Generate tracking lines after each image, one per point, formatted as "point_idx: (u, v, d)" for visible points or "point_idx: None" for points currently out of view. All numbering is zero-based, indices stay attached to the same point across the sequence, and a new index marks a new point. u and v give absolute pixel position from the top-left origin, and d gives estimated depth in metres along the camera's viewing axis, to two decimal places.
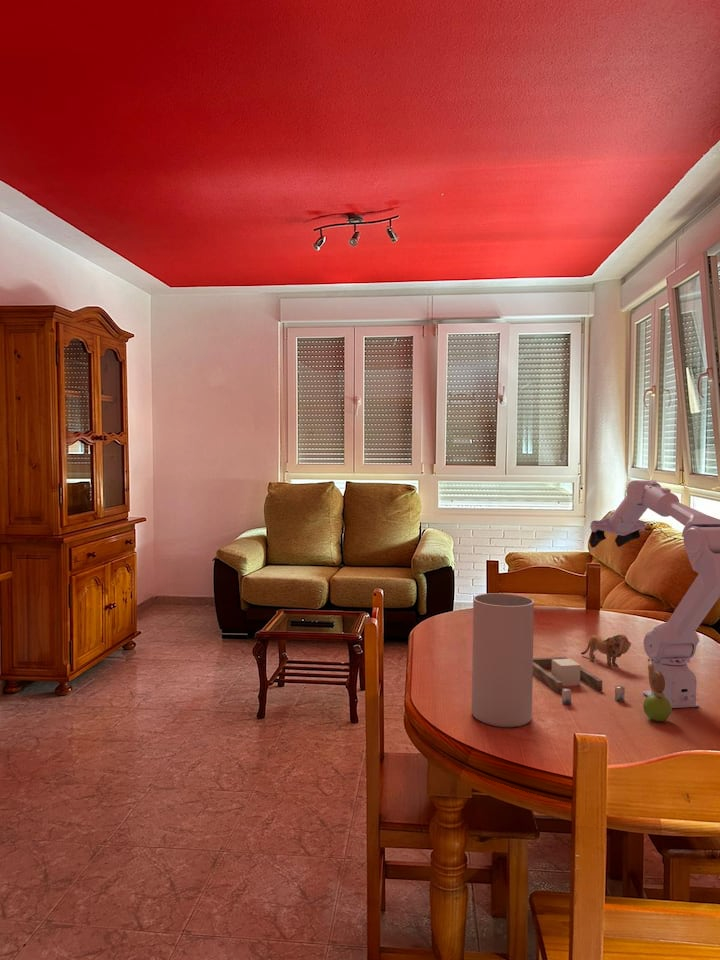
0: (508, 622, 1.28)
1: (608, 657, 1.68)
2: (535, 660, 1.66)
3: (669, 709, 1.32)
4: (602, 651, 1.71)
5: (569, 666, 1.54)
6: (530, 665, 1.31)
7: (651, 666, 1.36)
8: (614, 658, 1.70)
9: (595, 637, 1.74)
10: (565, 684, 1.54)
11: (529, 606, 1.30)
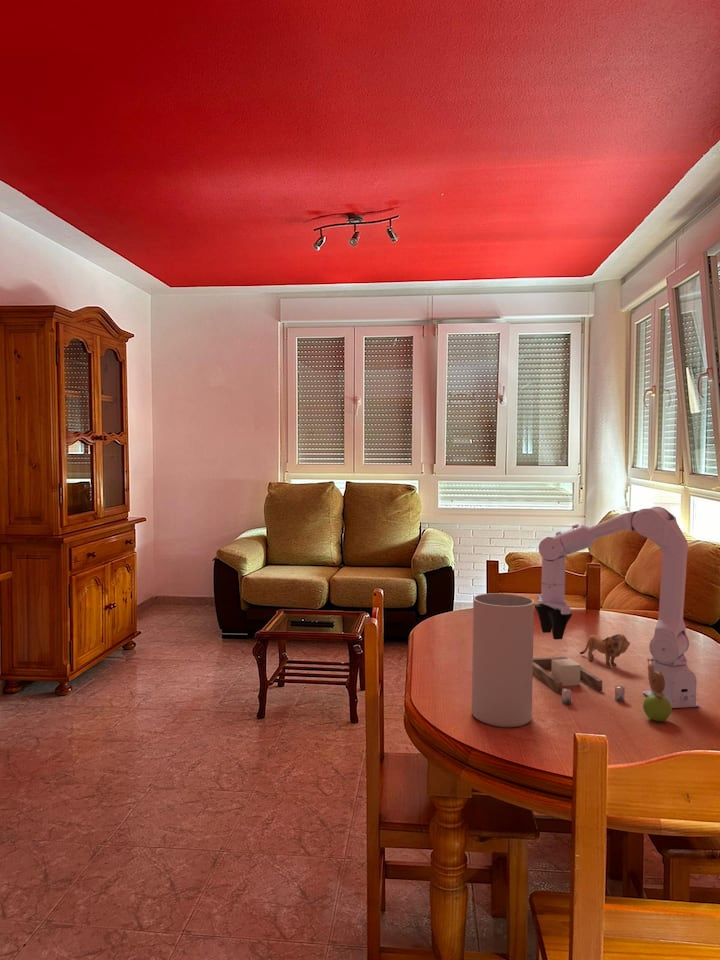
0: (508, 622, 1.28)
1: (607, 657, 1.69)
2: (535, 660, 1.66)
3: (669, 709, 1.32)
4: (601, 651, 1.71)
5: (569, 666, 1.54)
6: (530, 665, 1.31)
7: (651, 666, 1.36)
8: (613, 658, 1.70)
9: (594, 637, 1.74)
10: (565, 684, 1.54)
11: (529, 606, 1.30)
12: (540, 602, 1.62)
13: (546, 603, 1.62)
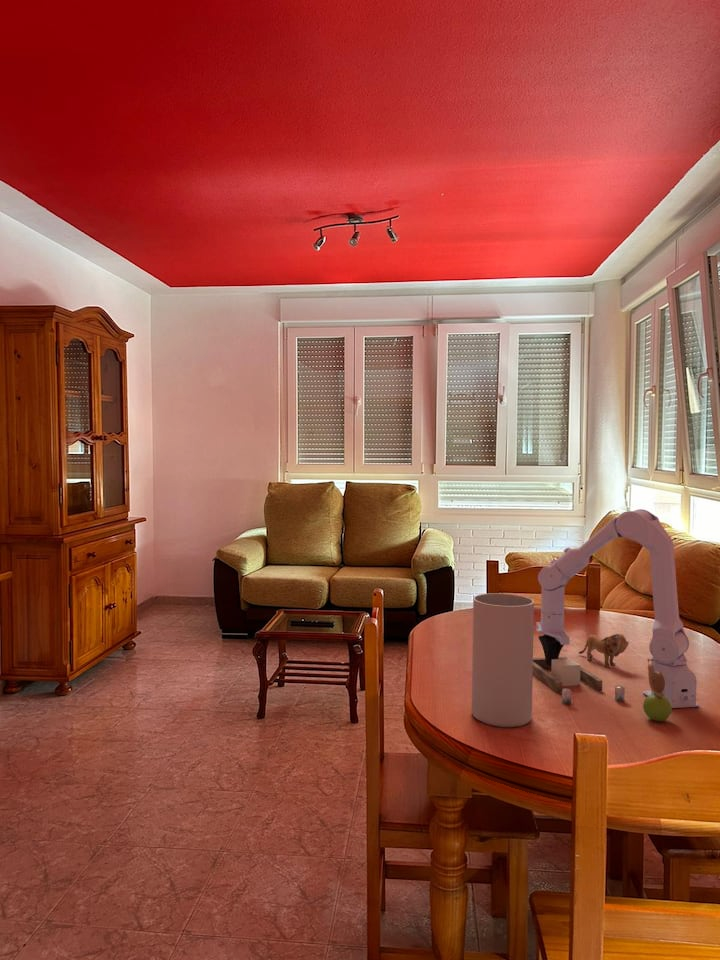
0: (508, 622, 1.28)
1: (606, 656, 1.69)
2: (535, 660, 1.66)
3: (669, 709, 1.32)
4: (600, 650, 1.71)
5: (569, 666, 1.54)
6: (530, 665, 1.31)
7: (651, 666, 1.36)
8: (612, 657, 1.70)
9: (593, 636, 1.74)
10: (565, 684, 1.54)
11: (529, 606, 1.30)
12: (539, 631, 1.63)
13: (545, 632, 1.62)
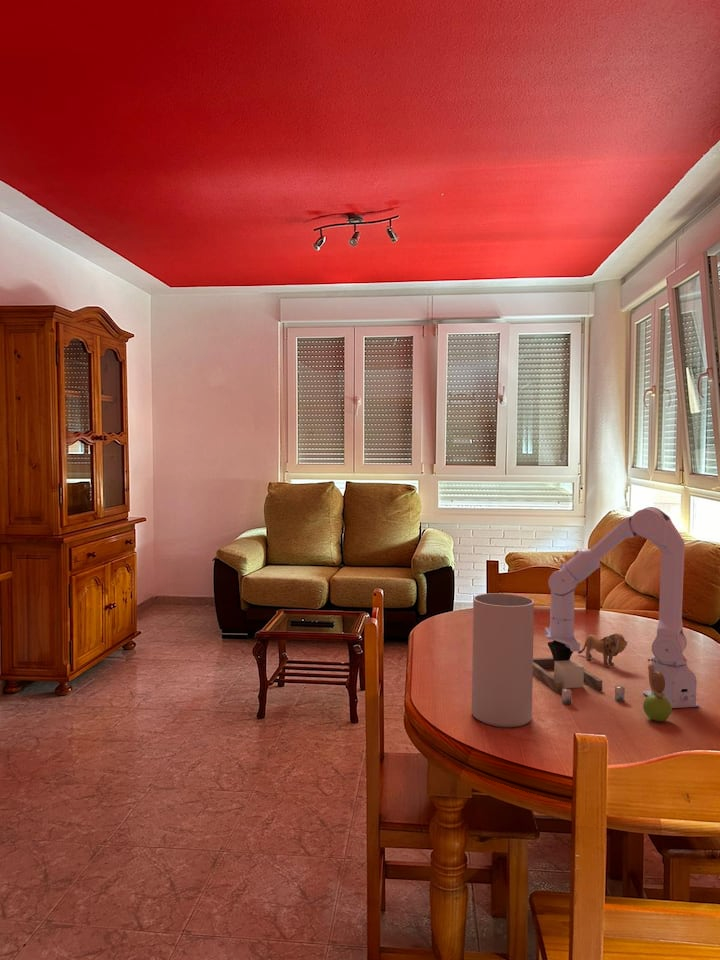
0: (508, 622, 1.28)
1: (604, 656, 1.69)
2: (535, 660, 1.66)
3: (669, 709, 1.32)
4: (598, 650, 1.71)
5: (572, 668, 1.53)
6: (530, 665, 1.31)
7: (651, 666, 1.36)
8: (610, 657, 1.71)
9: (592, 636, 1.75)
10: (569, 686, 1.53)
11: (529, 606, 1.30)
12: (549, 637, 1.58)
13: (555, 639, 1.57)
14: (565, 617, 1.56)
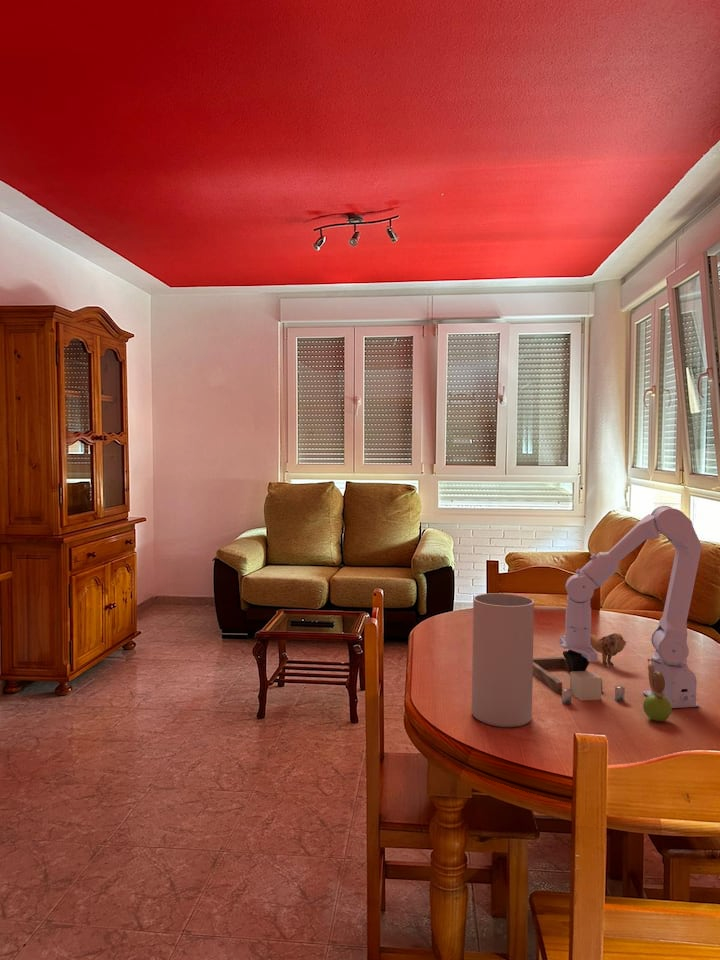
0: (508, 622, 1.28)
1: (603, 656, 1.69)
2: (535, 660, 1.66)
3: (669, 709, 1.32)
4: (597, 650, 1.72)
5: (589, 679, 1.45)
6: (530, 665, 1.31)
7: (651, 666, 1.36)
8: (609, 657, 1.71)
9: (591, 636, 1.75)
10: (586, 698, 1.45)
11: (529, 606, 1.30)
12: (564, 647, 1.50)
13: (571, 648, 1.49)
14: (585, 625, 1.48)
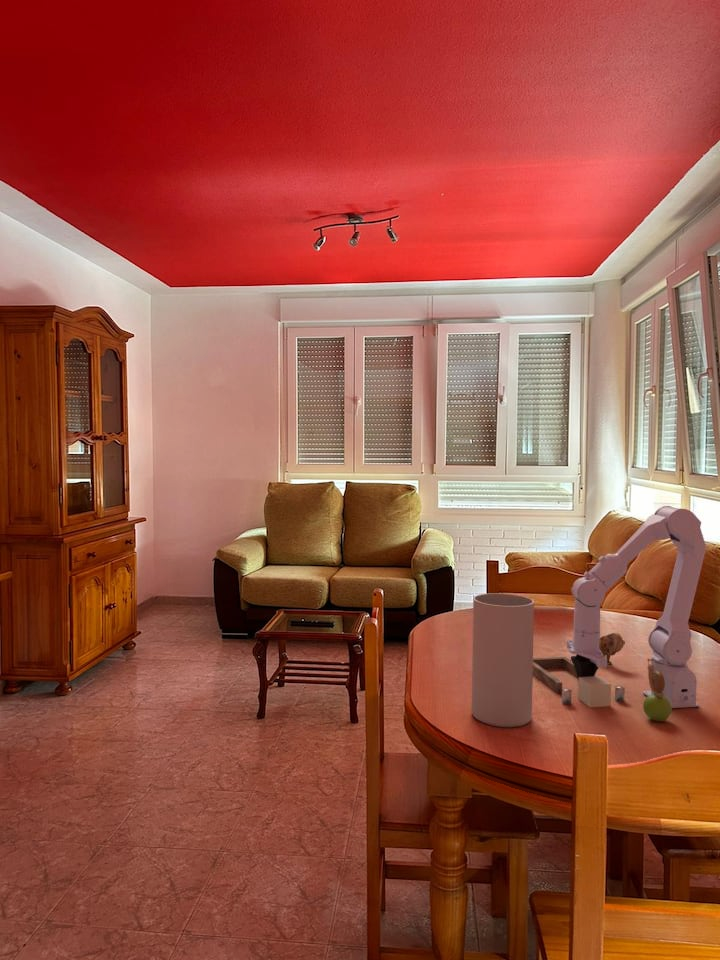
0: (508, 622, 1.28)
1: None
2: (535, 660, 1.66)
3: (669, 709, 1.32)
4: None
5: (599, 685, 1.41)
6: (530, 665, 1.31)
7: (651, 666, 1.36)
8: (608, 656, 1.71)
9: None
10: (595, 705, 1.41)
11: (529, 606, 1.30)
12: (572, 652, 1.46)
13: (579, 653, 1.45)
14: (596, 630, 1.45)
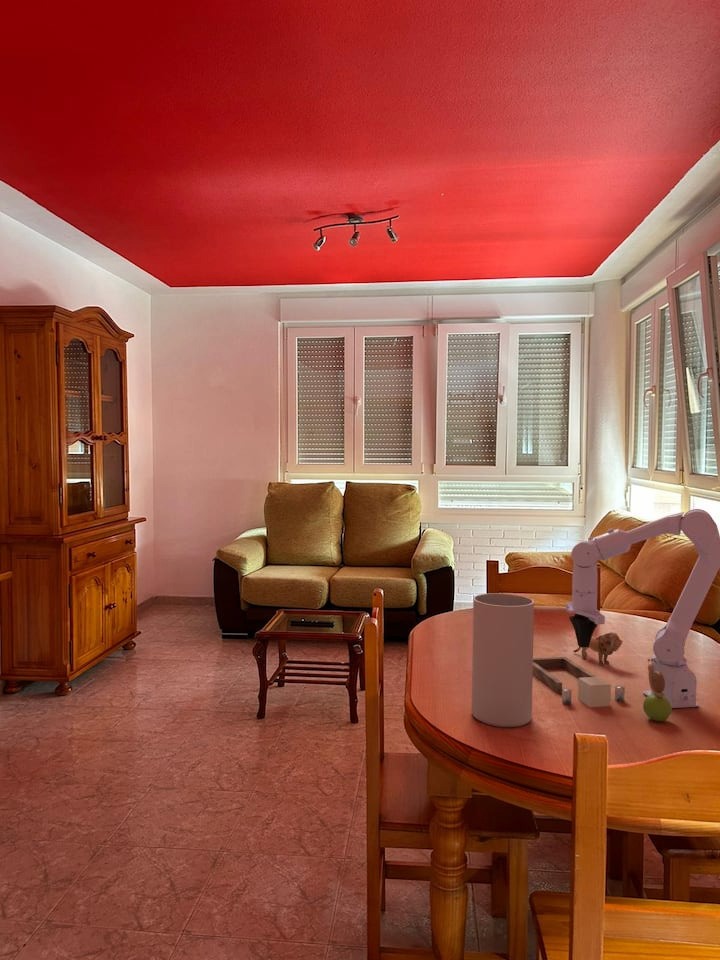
0: (508, 622, 1.28)
1: (599, 655, 1.70)
2: (535, 660, 1.66)
3: (669, 709, 1.32)
4: (594, 649, 1.73)
5: (599, 685, 1.41)
6: (530, 665, 1.31)
7: (651, 666, 1.36)
8: (606, 656, 1.72)
9: None
10: (595, 705, 1.41)
11: (529, 606, 1.30)
12: (571, 611, 1.53)
13: (578, 612, 1.52)
14: (589, 590, 1.51)
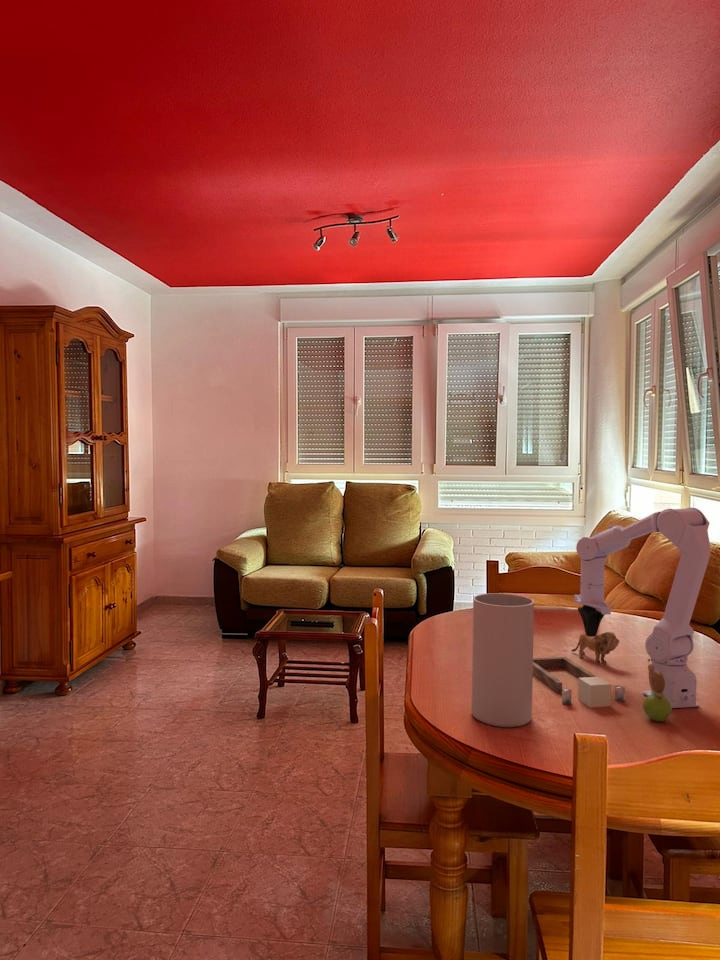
0: (508, 622, 1.28)
1: (596, 654, 1.71)
2: (535, 660, 1.66)
3: (669, 709, 1.32)
4: (591, 648, 1.73)
5: (599, 686, 1.41)
6: (530, 665, 1.31)
7: (651, 666, 1.36)
8: (603, 655, 1.72)
9: (585, 634, 1.76)
10: (595, 706, 1.41)
11: (529, 606, 1.30)
12: (579, 602, 1.63)
13: (586, 603, 1.62)
14: (590, 582, 1.61)
